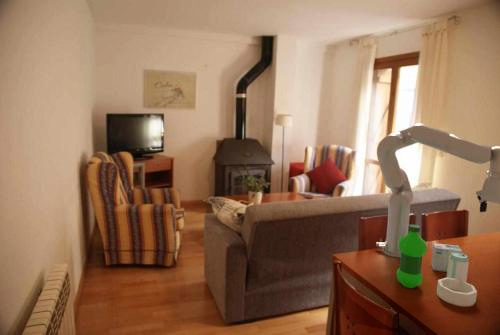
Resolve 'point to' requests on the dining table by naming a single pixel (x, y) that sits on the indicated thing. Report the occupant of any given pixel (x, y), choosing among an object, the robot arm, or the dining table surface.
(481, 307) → the dining table surface
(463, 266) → the can
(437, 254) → the light bulb box
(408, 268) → the plastic bottle
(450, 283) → the white octagonal bowl
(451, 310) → the dining table surface
